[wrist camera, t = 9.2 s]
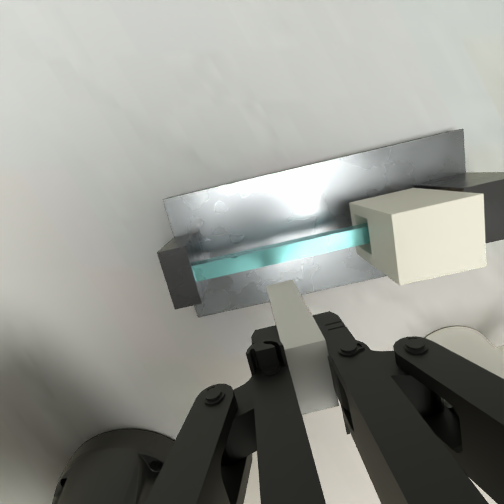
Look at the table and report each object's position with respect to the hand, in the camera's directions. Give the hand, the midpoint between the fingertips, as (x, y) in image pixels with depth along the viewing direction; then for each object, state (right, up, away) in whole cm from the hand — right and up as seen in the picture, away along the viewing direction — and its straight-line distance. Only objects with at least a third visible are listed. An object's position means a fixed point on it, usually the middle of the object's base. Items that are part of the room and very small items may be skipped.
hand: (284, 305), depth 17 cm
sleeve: (+9, +5, +7) cm, 12 cm away
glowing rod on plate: (+4, +5, +11) cm, 12 cm away
